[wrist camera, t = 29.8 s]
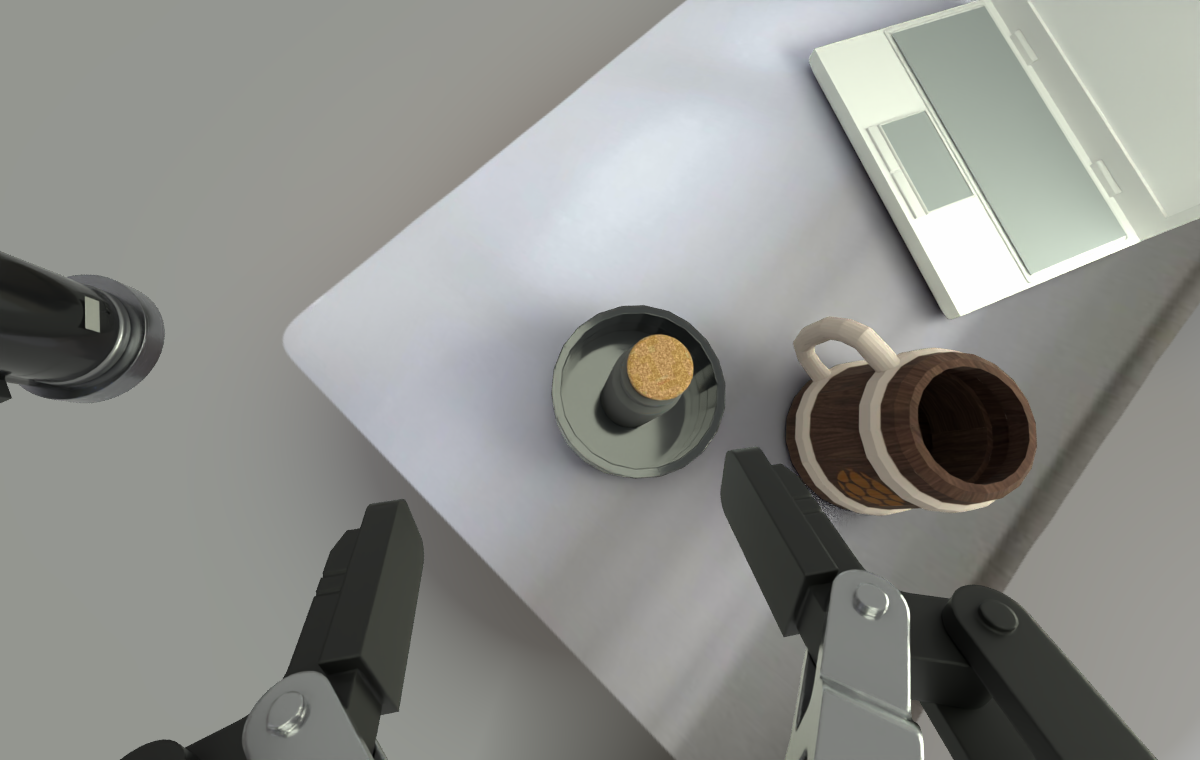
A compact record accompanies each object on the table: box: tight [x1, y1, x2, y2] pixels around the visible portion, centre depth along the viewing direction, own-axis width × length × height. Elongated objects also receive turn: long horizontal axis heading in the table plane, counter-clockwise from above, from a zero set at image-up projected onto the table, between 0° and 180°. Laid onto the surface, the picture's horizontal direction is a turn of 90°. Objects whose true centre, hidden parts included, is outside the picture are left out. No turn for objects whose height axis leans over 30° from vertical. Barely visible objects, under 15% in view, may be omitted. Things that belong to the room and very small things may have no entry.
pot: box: [552, 305, 725, 478], centre depth 45 cm, size 16×16×6 cm
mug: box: [786, 317, 1037, 516], centre depth 42 cm, size 20×15×15 cm
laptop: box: [809, 0, 1200, 320], centre depth 43 cm, size 35×26×28 cm
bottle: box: [601, 335, 693, 427], centre depth 40 cm, size 6×6×15 cm
